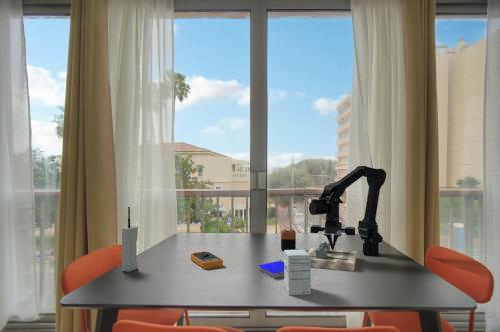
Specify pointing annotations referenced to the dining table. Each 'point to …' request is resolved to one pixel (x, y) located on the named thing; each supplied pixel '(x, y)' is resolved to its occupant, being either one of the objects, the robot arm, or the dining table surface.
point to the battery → (288, 240)
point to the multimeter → (206, 260)
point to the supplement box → (297, 272)
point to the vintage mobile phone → (129, 246)
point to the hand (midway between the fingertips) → (332, 249)
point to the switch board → (334, 260)
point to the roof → (273, 269)
